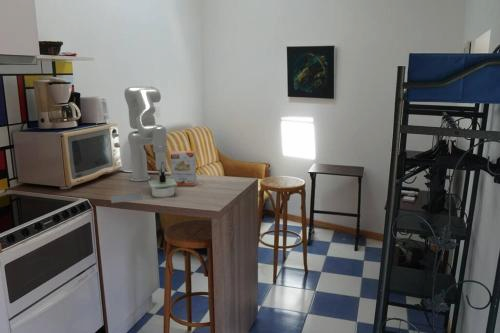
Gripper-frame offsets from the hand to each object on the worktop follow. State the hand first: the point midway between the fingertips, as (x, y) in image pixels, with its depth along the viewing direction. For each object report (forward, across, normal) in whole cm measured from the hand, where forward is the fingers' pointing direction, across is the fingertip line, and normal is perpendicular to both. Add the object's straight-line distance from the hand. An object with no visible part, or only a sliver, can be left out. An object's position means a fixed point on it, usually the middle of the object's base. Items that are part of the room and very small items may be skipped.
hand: (162, 180), depth 232 cm
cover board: (+2, 0, 0) cm, 2 cm away
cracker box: (+8, -16, +15) cm, 23 cm away
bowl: (+8, 0, 0) cm, 8 cm away
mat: (+8, 0, -20) cm, 22 cm away
